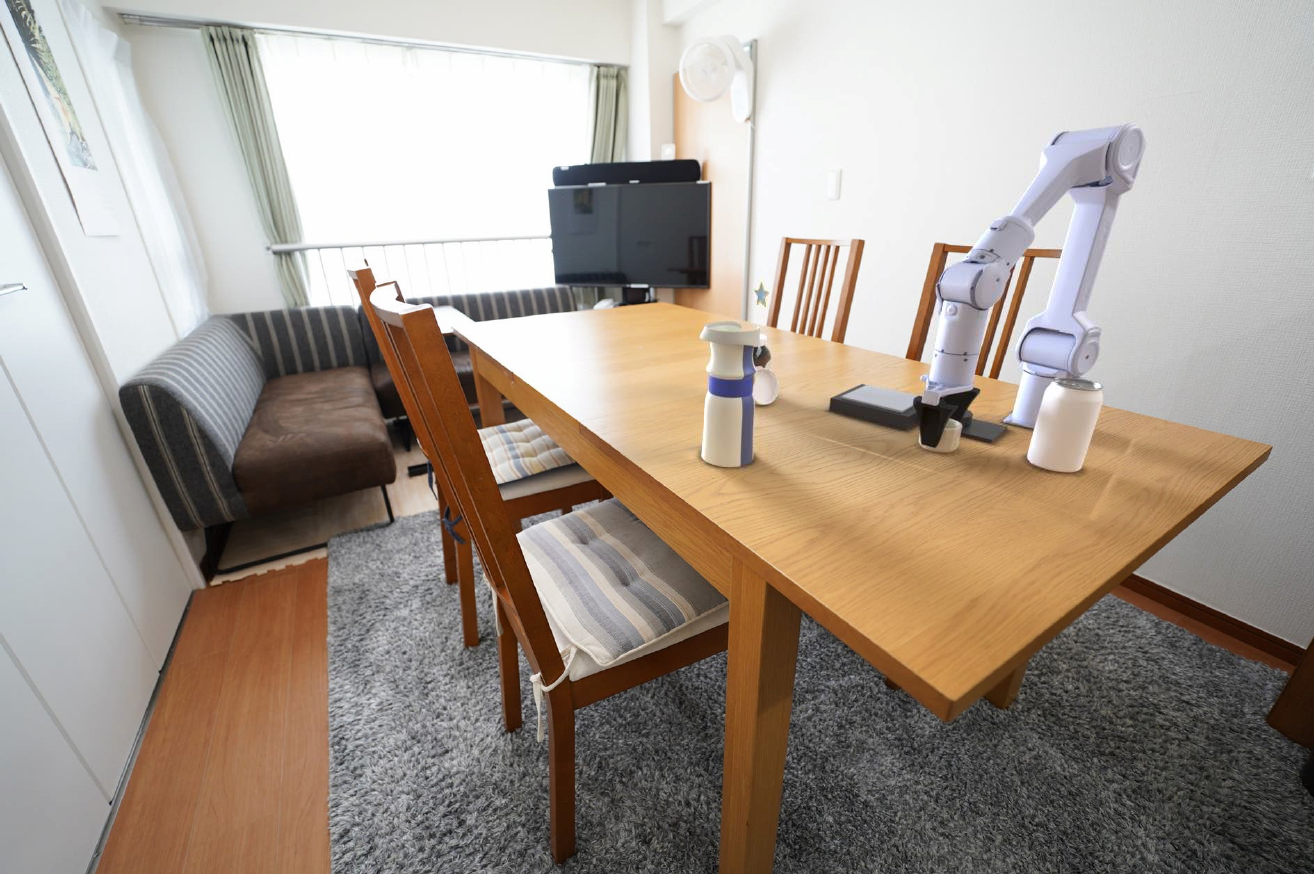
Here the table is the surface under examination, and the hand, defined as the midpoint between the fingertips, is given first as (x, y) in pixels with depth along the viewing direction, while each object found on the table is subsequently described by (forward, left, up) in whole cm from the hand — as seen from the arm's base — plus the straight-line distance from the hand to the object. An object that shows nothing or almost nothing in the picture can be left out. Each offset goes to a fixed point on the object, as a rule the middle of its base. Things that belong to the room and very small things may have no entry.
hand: (938, 438), depth 83 cm
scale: (+13, -9, -1) cm, 16 cm away
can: (-14, -5, -2) cm, 15 cm away
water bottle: (+21, +25, -2) cm, 33 cm away
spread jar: (+35, 0, -2) cm, 35 cm away
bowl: (0, 0, -1) cm, 1 cm away
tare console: (-1, -11, -1) cm, 11 cm away
